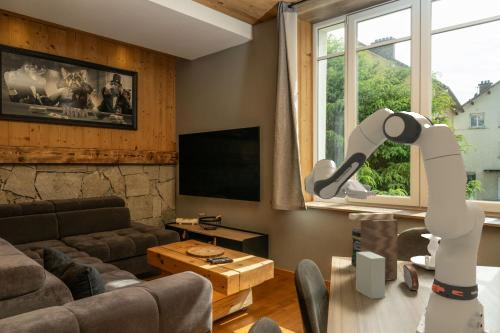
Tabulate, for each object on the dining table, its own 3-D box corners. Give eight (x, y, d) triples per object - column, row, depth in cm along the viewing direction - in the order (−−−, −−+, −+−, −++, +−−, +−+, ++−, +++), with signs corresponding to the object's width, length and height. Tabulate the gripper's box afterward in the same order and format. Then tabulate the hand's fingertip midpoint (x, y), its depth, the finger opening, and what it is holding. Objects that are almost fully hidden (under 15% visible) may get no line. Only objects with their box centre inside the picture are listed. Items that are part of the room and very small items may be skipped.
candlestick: (401, 270, 166) (402, 211, 166) (417, 259, 184) (418, 207, 184) (450, 280, 152) (451, 216, 152) (462, 267, 171) (463, 211, 171)
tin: (419, 293, 136) (419, 272, 136) (410, 293, 136) (411, 271, 136) (409, 281, 151) (410, 261, 150) (402, 280, 151) (402, 261, 151)
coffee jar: (348, 265, 174) (349, 228, 173) (357, 262, 179) (358, 226, 179) (365, 269, 166) (366, 231, 166) (374, 266, 171) (375, 229, 171)
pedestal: (370, 298, 130) (371, 258, 130) (355, 289, 140) (356, 252, 139) (384, 297, 131) (385, 257, 131) (368, 288, 141) (369, 251, 141)
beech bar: (353, 220, 150) (353, 214, 150) (348, 219, 154) (348, 213, 154) (393, 219, 156) (393, 213, 156) (387, 217, 160) (387, 212, 160)
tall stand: (373, 281, 150) (374, 221, 150) (360, 274, 159) (360, 217, 159) (397, 278, 153) (397, 220, 153) (382, 272, 163) (383, 216, 162)
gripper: (346, 186, 142) (380, 189, 141) (338, 176, 162) (368, 178, 161) (344, 201, 143) (378, 204, 142) (336, 189, 163) (366, 191, 162)
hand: (373, 190), depth 152 cm, fingers open, 8 cm apart
